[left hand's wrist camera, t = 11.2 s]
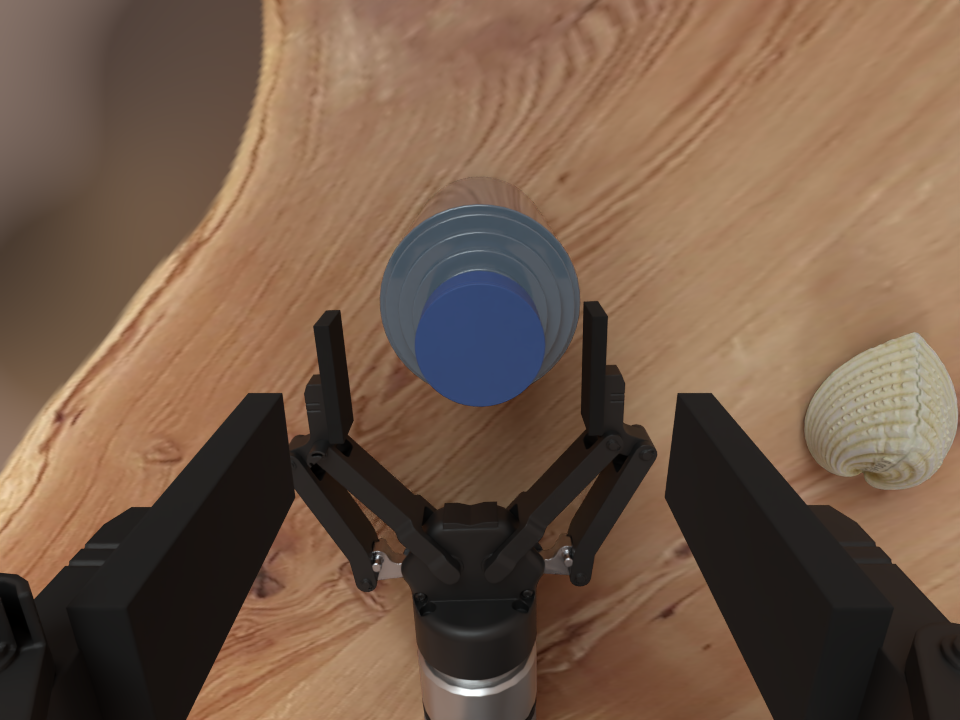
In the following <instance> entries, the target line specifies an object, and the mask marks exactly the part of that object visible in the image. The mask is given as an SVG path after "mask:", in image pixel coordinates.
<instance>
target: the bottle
mask: <svg viewBox="0 0 960 720" xmlns="http://www.w3.org/2000/svg"><path fill="white" fill-rule="evenodd" d="M472 271H488V272H494V273H498V274H501V275H504V276H506V277H508V278H510V279H512V280H513V281H515V282H517V283H518V284H519V285H520V286H521V287H523V288H524V290H525V291H526V292H527V293H528V294H529V295H530V297H531V298H532V300H533V302H534V304H535V305H536V308H537V311H538V313H539V317H540V320H541V323H542V327H543V330H544V335H545V355H544V360H543V363H542V366H541V368H540V370H539V372H538V374H537V376H536V377H535V379H534V380H533V382H532V383H534V382H535V381H537V380H538V379H540V378H541V377H542V376H544V375H545V374H546V373H547V372H548V371H550V370H551V369H552V368H553V366H554V365H555V364H556V363H557V362H558V361H559V360H560V358H561V357H562V356H563V354H564V353H565V351H566V350H567V348H568V346H569V344H570V342H571V340H572V338H573V335H574V333H575V330H576V327H577V323H578V318H579V311H580V289H579V284H578V278H577V275H576V272H575V269H574V266H573V264H572V262H571V260H570V258H569V256H568V254H567V252H566V251H565V249H564V248H563V246H562V245H561V243H560V241H559V240H558V238H557V237H556V235H555V234H554V232H553V231H552V229H551V228H550V226H549V225H548V223H547V222H546V220H545V219H544V217H543V216H542V214H541V213H540V211H539V210H538V208H537V207H536V205H535V204H534V203H533V201H532V200H531V199H530V198H529V197H528V196H527V195H526V194H525V193H523V192H522V191H521V190H520V189H518V188H517V187H515V186H513V185H511V184H509V183H507V182H505V181H502V180H499V179H495V178H489V177H471V178H465V179H461V180H458V181H455V182H453V183H450V184H449V185H447V186H445V187H443V188H442V189H440V190H439V191H438V192H436V193H435V194H434V195H433V196H432V197H431V198H430V199H429V200H428V201H427V203H426V204H425V205H424V207H423V208H422V210H421V211H420V213H419V214H418V216H417V217H416V219H415V220H414V222H413V223H412V225H411V226H410V228H409V229H408V231H407V232H406V234H405V235H404V237H403V238H402V240H401V241H400V243H399V244H398V246H397V247H396V249H395V251H394V252H393V254H392V256H391V258H390V259H389V262H388V264H387V267H386V269H385V272H384V275H383V279H382V283H381V291H380V312H381V318H382V323H383V326H384V330H385V333H386V336H387V338H388V340H389V342H390V344H391V346H392V348H393V349H394V351H395V353H396V354H397V356H398V357H399V358H400V360H401V361H402V362H403V363H404V364H405V366H406V367H407V368H409V369H410V370H411V371H412V372H413V373H414V374H415V375H416V376H418V377H419V378H420V379H422V380H423V381H425V382H426V383H428V382H427V380H426V379H425V377H424V376H423V374H422V373H421V370H420V368H419V366H418V363H417V359H416V355H415V335H416V331H417V327H418V324H419V320H420V317H421V314H422V310H423V308H424V306H425V303H426V302H427V300H428V298H429V297H430V295H431V294H432V293H433V292H434V290H435V289H437V288H438V287H439V286H440V285H441V284H442V283H444V282H445V281H447V280H448V279H450V278H452V277H454V276H456V275H459V274H462V273H466V272H472ZM532 383H531V384H532ZM428 384H429V383H428ZM531 384H530V385H531Z"/></svg>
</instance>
